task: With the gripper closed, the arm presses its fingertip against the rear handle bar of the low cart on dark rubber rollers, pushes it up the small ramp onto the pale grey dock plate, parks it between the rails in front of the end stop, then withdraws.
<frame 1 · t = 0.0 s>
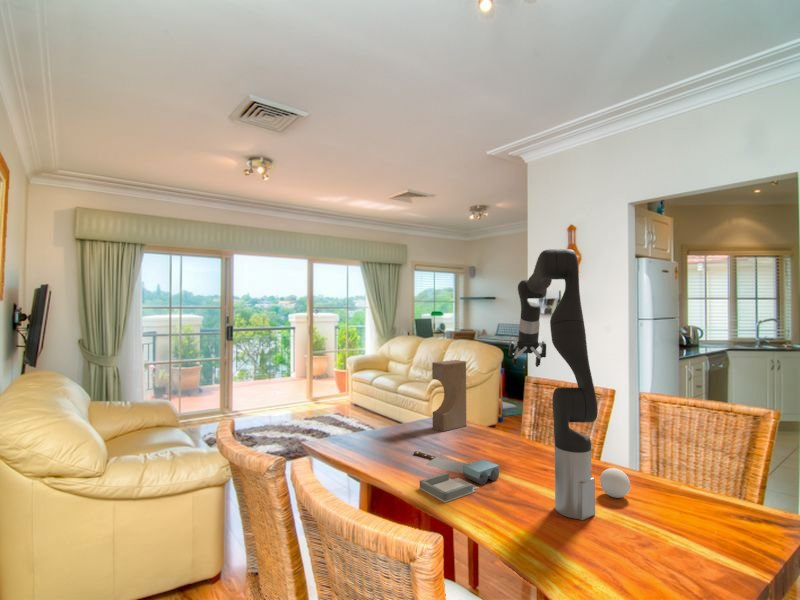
hand: (526, 365, 173), 31 cm above the table, tool tilted 20°, fingers open, 8 cm apart
dock: (447, 490, 129), on the table
kitchen cleaver: (437, 464, 152), on the table
decorative block: (449, 427, 197), on the table
ball: (615, 497, 125), on the table
cart: (481, 479, 138), on the table
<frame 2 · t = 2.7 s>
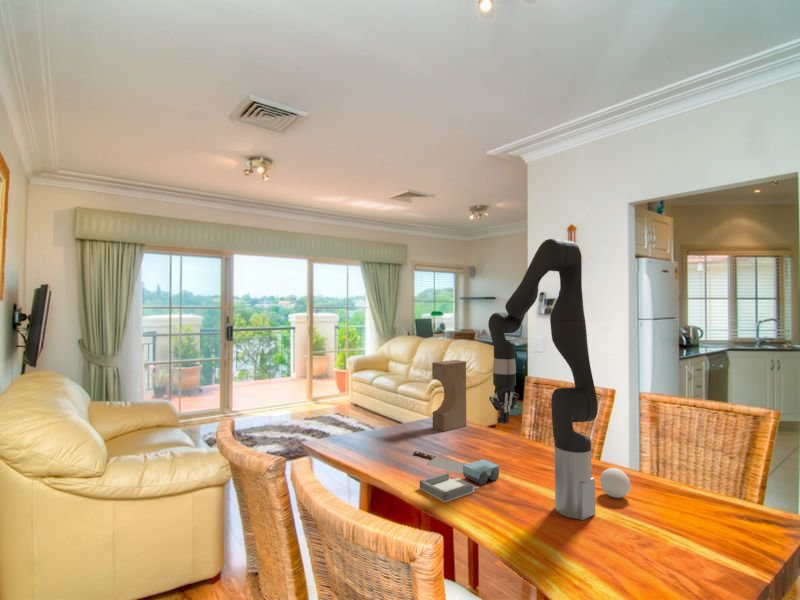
hand: (504, 422, 145), 16 cm above the table, tool pointing down, fingers closed
nothing on the table moved.
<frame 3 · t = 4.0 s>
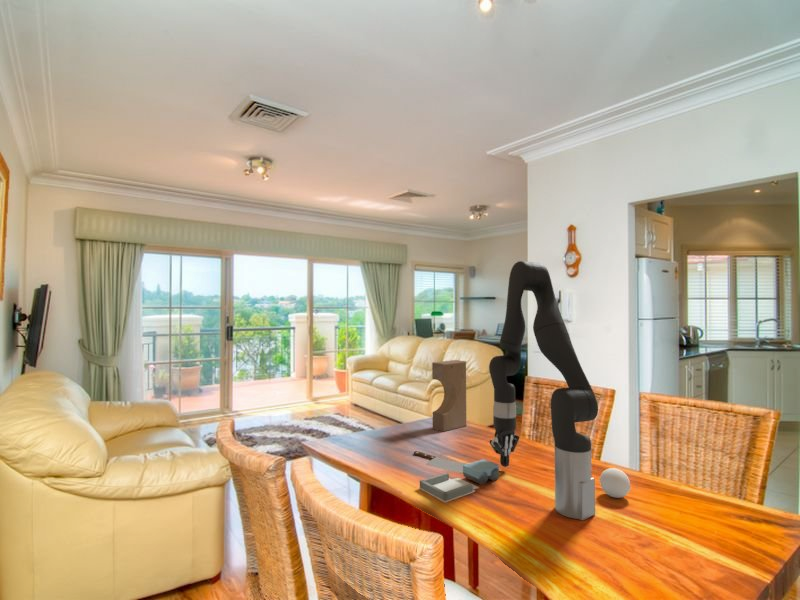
hand: (504, 465, 145), 2 cm above the table, tool pointing down, fingers closed
nothing on the table moved.
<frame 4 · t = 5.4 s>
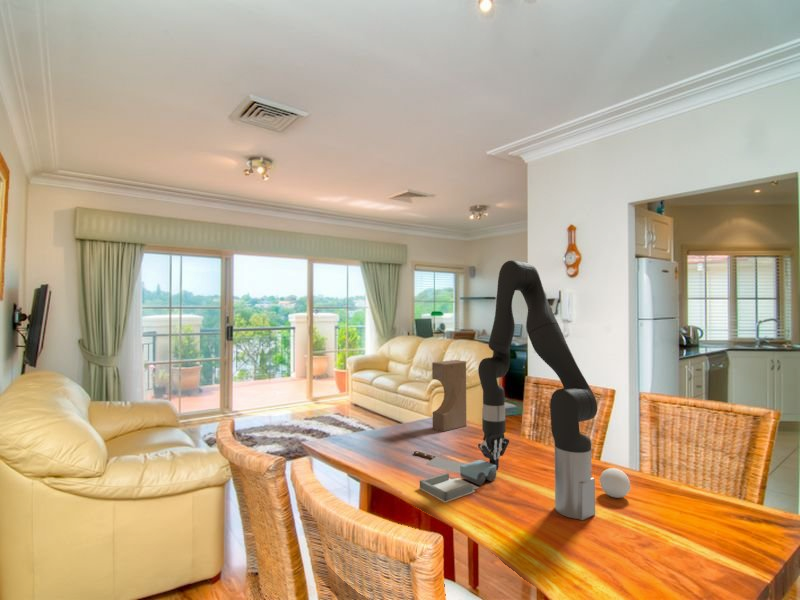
hand: (494, 469, 142), 1 cm above the table, tool pointing down, fingers closed
cart: (478, 479, 137), on the table, touching gripper
everything else where it was.
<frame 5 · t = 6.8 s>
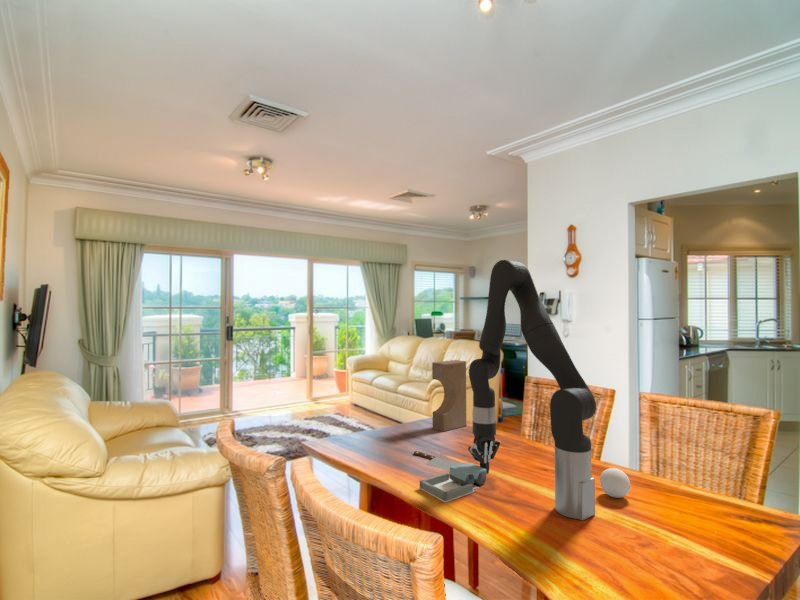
hand: (484, 473, 139), 1 cm above the table, tool pointing down, fingers closed
cart: (467, 482, 134), on the table, touching gripper
everything else where it was.
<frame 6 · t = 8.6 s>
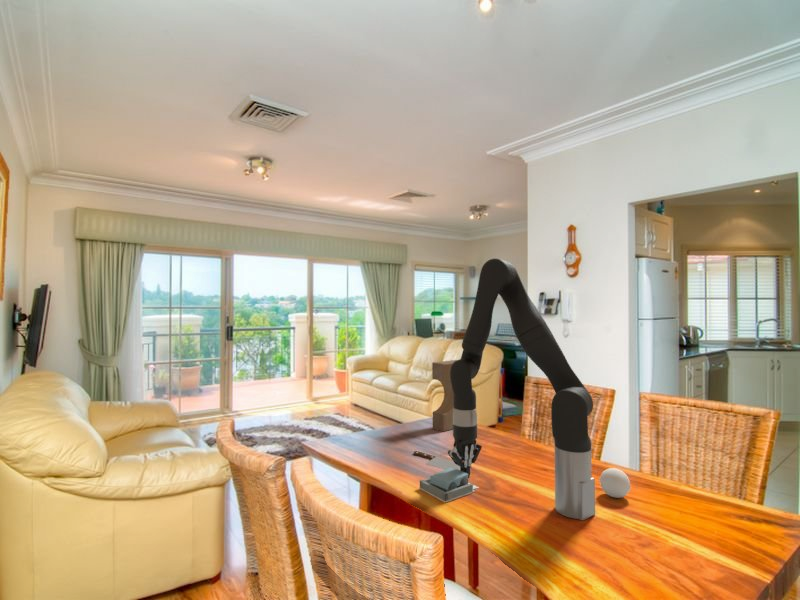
hand: (465, 477, 134), 2 cm above the table, tool pointing down, fingers closed
cart: (449, 489, 129), resting on dock, touching gripper
everything else where it was.
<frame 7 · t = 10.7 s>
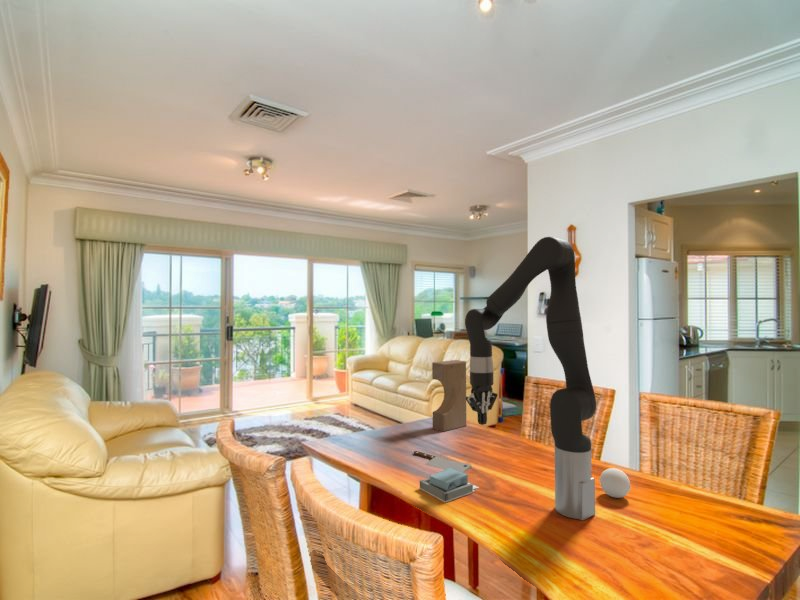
hand: (482, 424, 138), 17 cm above the table, tool pointing down, fingers closed
cart: (448, 489, 129), resting on dock
everything else where it was.
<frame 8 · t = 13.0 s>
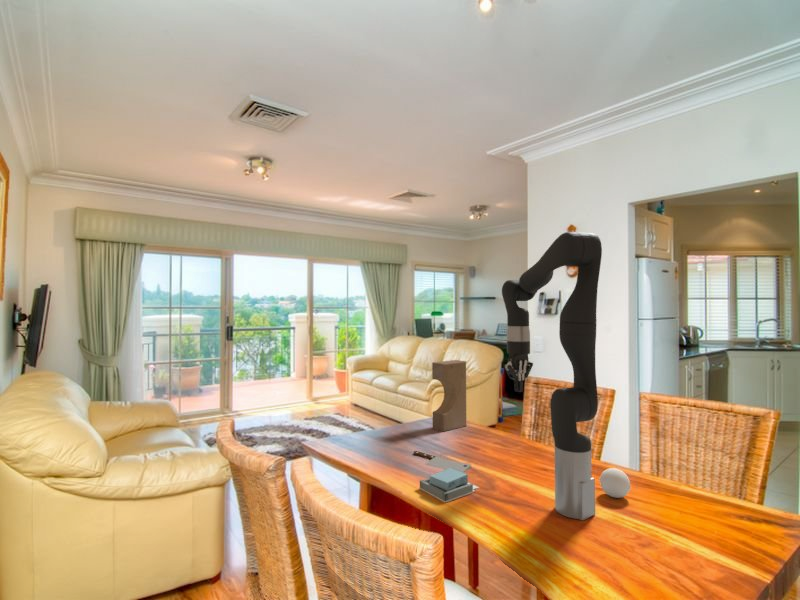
hand: (518, 391, 143), 27 cm above the table, tool pointing down, fingers closed
nothing on the table moved.
at the end: cart inside the target area (0.8 cm from its centre), resting on dock; cart tilted 0° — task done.
